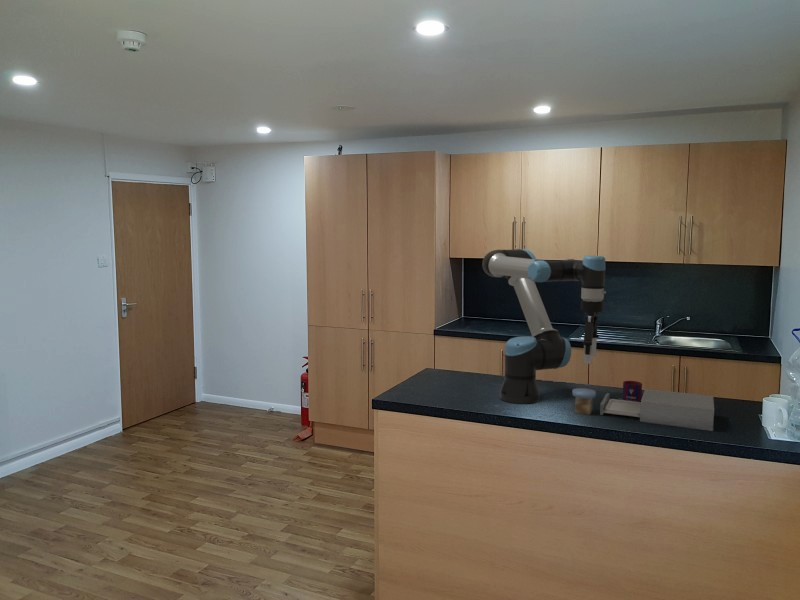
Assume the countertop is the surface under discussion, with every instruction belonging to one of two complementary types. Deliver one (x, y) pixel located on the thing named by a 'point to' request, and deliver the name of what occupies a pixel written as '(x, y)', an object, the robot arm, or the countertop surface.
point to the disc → (584, 393)
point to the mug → (632, 391)
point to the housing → (677, 409)
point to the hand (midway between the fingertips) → (589, 359)
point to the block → (583, 405)
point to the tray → (619, 407)
